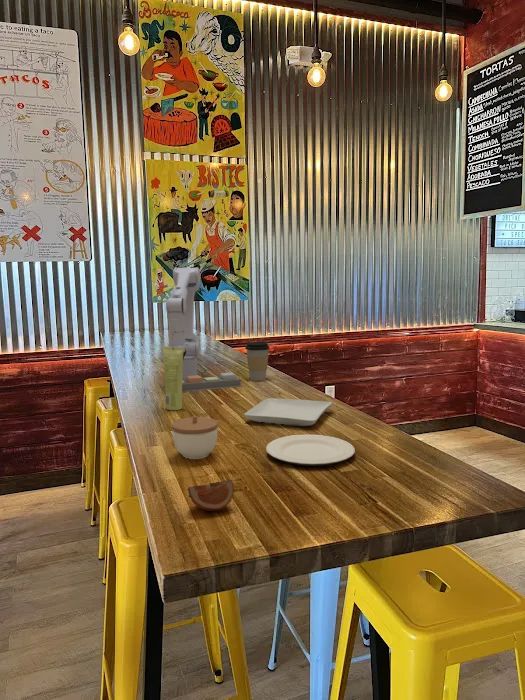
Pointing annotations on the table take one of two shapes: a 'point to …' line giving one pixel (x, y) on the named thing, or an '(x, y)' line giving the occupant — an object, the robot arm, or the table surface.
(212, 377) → the key sage
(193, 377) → the key terracotta
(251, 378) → the coffee cup
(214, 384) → the grey flat slotted tray
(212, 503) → the fruit slice
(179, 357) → the tube
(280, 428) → the table surface
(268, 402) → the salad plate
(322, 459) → the plate
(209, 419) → the lidded jar
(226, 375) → the key slate
